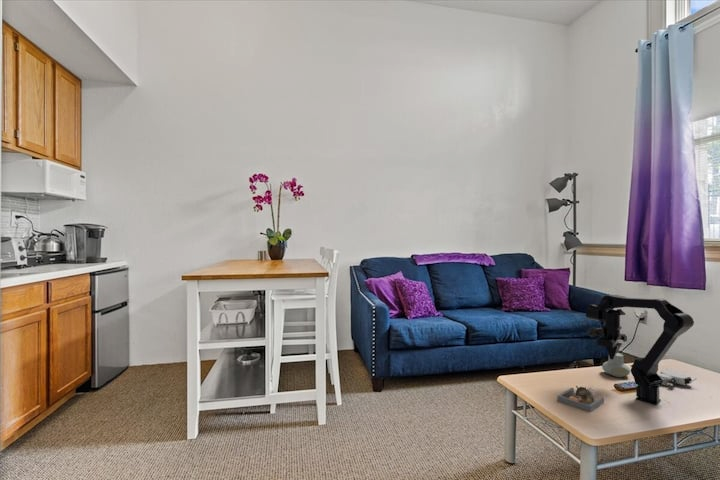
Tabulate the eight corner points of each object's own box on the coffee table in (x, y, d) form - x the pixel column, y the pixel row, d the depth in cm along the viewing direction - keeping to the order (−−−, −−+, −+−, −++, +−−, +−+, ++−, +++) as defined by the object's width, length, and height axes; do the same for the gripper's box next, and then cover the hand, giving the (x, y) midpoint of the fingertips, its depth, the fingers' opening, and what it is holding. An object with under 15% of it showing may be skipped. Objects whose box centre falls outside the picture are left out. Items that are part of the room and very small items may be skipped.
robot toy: (672, 392, 157) (698, 386, 160) (671, 382, 157) (697, 376, 160) (643, 381, 169) (668, 376, 172) (643, 372, 168) (668, 367, 172)
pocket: (604, 402, 144) (604, 395, 144) (590, 412, 136) (590, 404, 136) (571, 392, 153) (571, 385, 153) (557, 400, 145) (557, 393, 145)
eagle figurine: (569, 393, 150) (570, 397, 142) (580, 379, 149) (581, 382, 142) (587, 407, 146) (589, 412, 139) (599, 393, 146) (601, 397, 138)
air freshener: (606, 377, 171) (606, 355, 171) (599, 371, 180) (599, 350, 180) (633, 379, 169) (633, 357, 169) (624, 373, 177) (624, 352, 177)
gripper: (599, 317, 172) (599, 351, 172) (583, 323, 161) (582, 358, 161) (627, 322, 163) (627, 357, 163) (612, 328, 152) (612, 365, 152)
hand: (611, 359), depth 160 cm, fingers closed
